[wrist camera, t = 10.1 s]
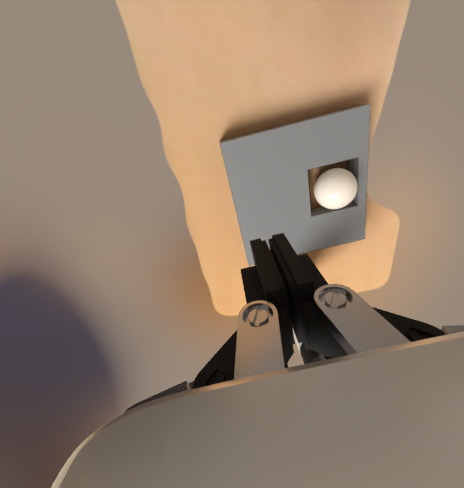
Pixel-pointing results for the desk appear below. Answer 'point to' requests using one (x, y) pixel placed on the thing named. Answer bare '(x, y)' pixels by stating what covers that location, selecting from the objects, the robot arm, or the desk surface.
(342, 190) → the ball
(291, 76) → the desk surface
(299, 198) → the plate
